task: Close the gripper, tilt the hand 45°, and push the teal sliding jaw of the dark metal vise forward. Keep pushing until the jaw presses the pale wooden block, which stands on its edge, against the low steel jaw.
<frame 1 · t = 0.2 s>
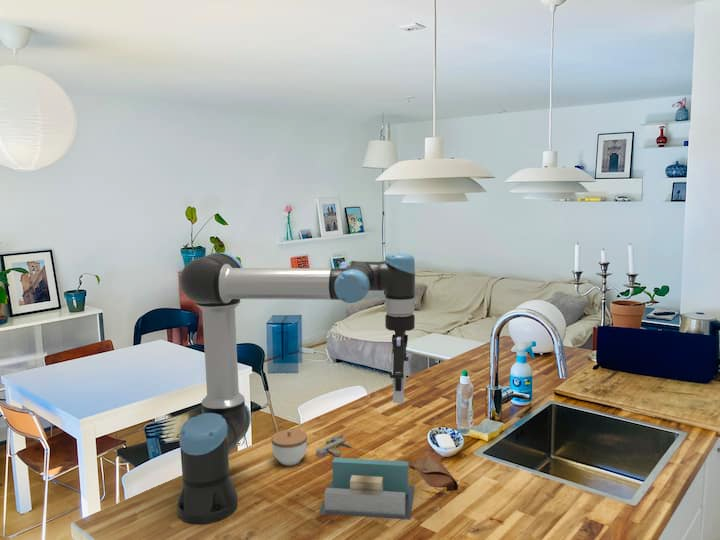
hand: (399, 393, 152), 28 cm above the kitchen counter, tool pointing down, fingers open, 13 cm apart
lidded jar: (290, 461, 175), on the kitchen counter
slide jaw: (370, 475, 154), point 5 cm above the kitchen counter, slide at 5.0 cm
block: (366, 504, 148), point 1 cm above the kitchen counter, touching vise base
sunglasses case: (432, 479, 164), on the kitchen counter
clamp: (335, 449, 183), on the kitchen counter
vise base: (368, 503, 150), on the kitchen counter
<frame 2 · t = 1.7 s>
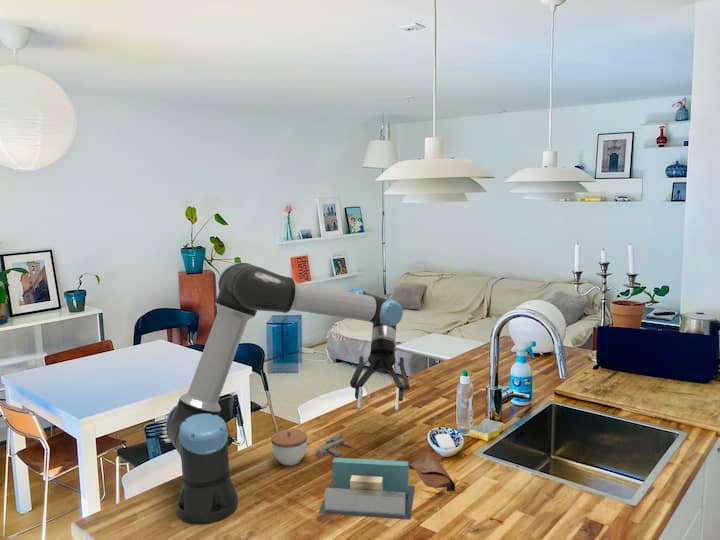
hand: (377, 410, 169), 17 cm above the kitchen counter, tool tilted 45°, fingers open, 10 cm apart
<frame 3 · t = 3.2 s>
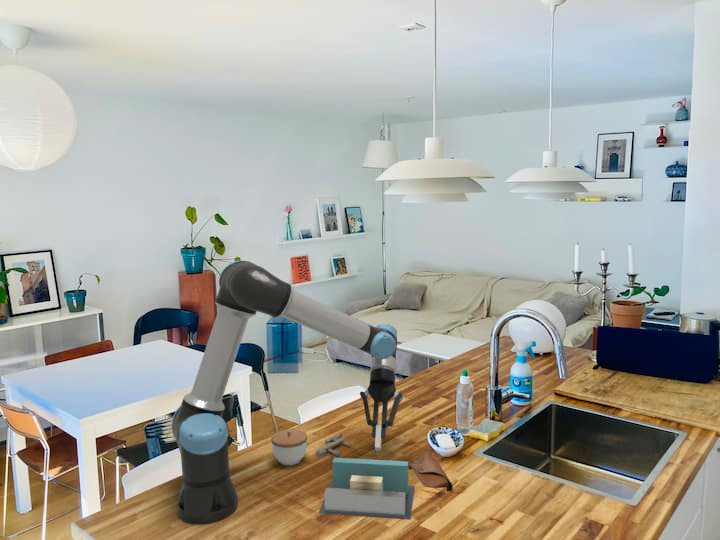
hand: (377, 448, 162), 9 cm above the kitchen counter, tool tilted 45°, fingers closed
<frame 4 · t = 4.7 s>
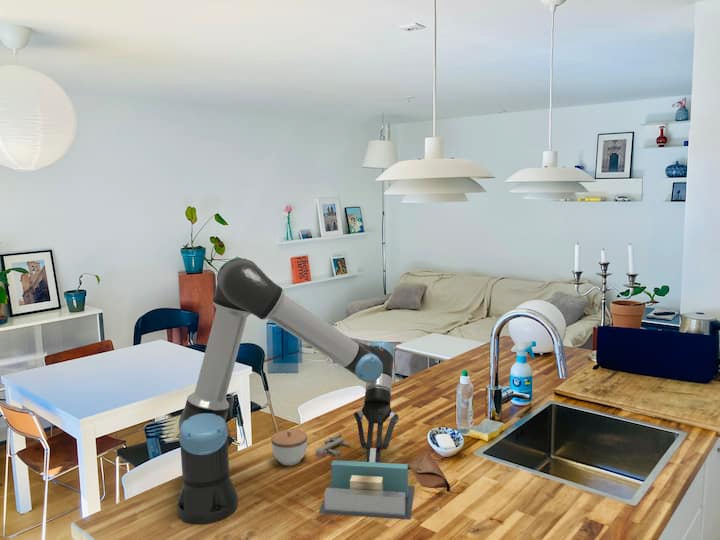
hand: (371, 473, 155), 5 cm above the kitchen counter, tool tilted 45°, fingers closed
slide jaw: (369, 478, 153), point 5 cm above the kitchen counter, slide at 3.5 cm, touching gripper
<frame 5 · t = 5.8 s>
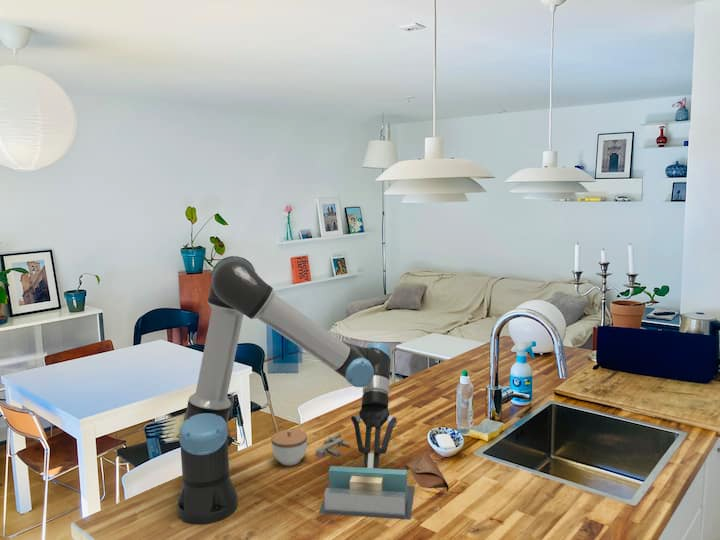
hand: (370, 479, 152), 5 cm above the kitchen counter, tool tilted 45°, fingers closed
slide jaw: (368, 484, 149), point 5 cm above the kitchen counter, slide at 0.3 cm, touching block, gripper
block: (366, 505, 147), point 1 cm above the kitchen counter, touching slide jaw, vise base
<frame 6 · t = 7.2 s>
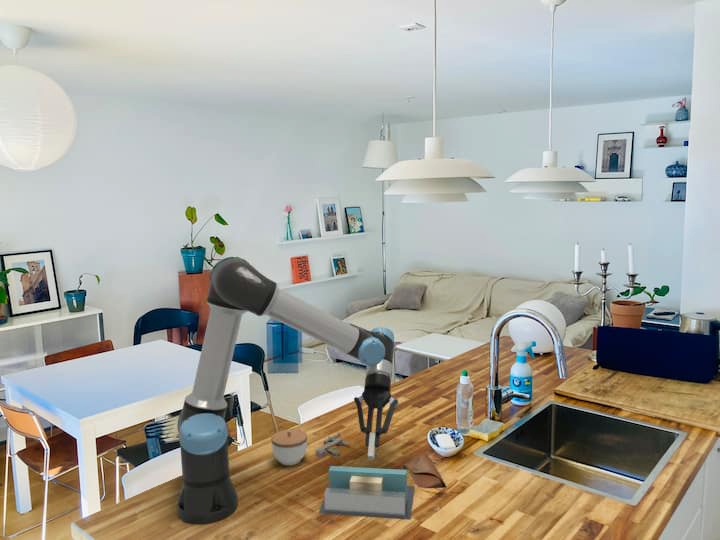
hand: (371, 457, 156), 9 cm above the kitchen counter, tool tilted 45°, fingers closed
slide jaw: (368, 484, 150), point 5 cm above the kitchen counter, slide at 0.3 cm, touching block
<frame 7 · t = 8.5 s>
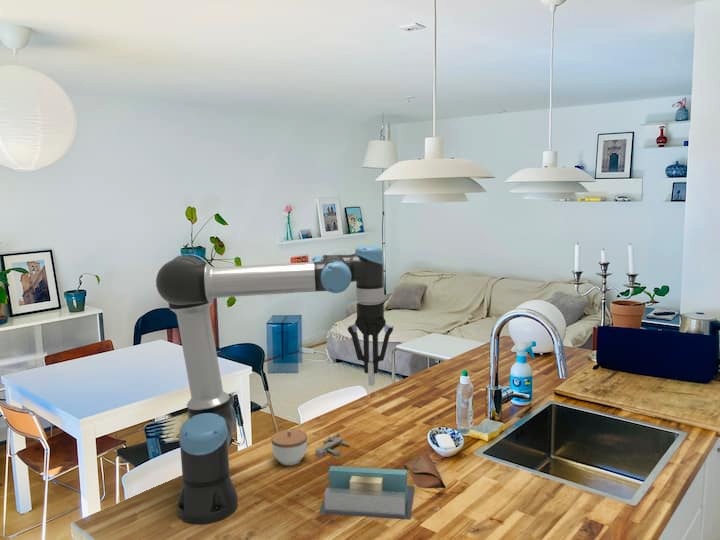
hand: (371, 384, 164), 26 cm above the kitchen counter, tool pointing down, fingers closed
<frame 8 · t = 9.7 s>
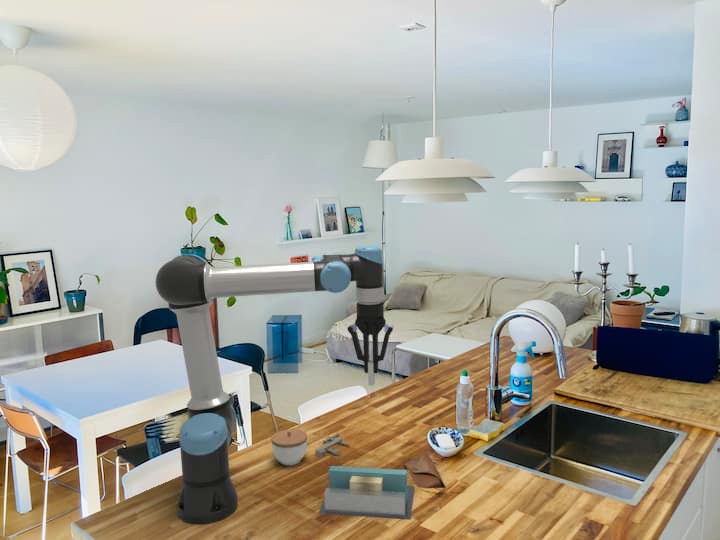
hand: (371, 383, 164), 26 cm above the kitchen counter, tool pointing down, fingers closed
at the end: slide jaw slide at 0.3 cm; block touching slide jaw, vise base; block tilted 0° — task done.
